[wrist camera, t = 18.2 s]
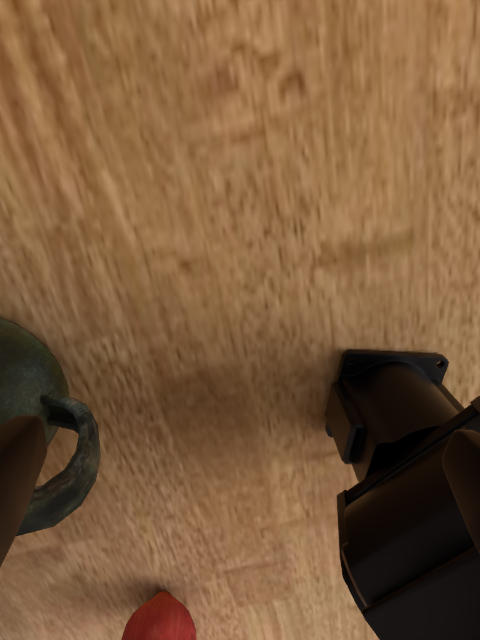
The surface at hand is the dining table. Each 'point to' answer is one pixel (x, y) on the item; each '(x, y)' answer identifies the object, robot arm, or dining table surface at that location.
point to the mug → (47, 423)
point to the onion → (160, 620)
